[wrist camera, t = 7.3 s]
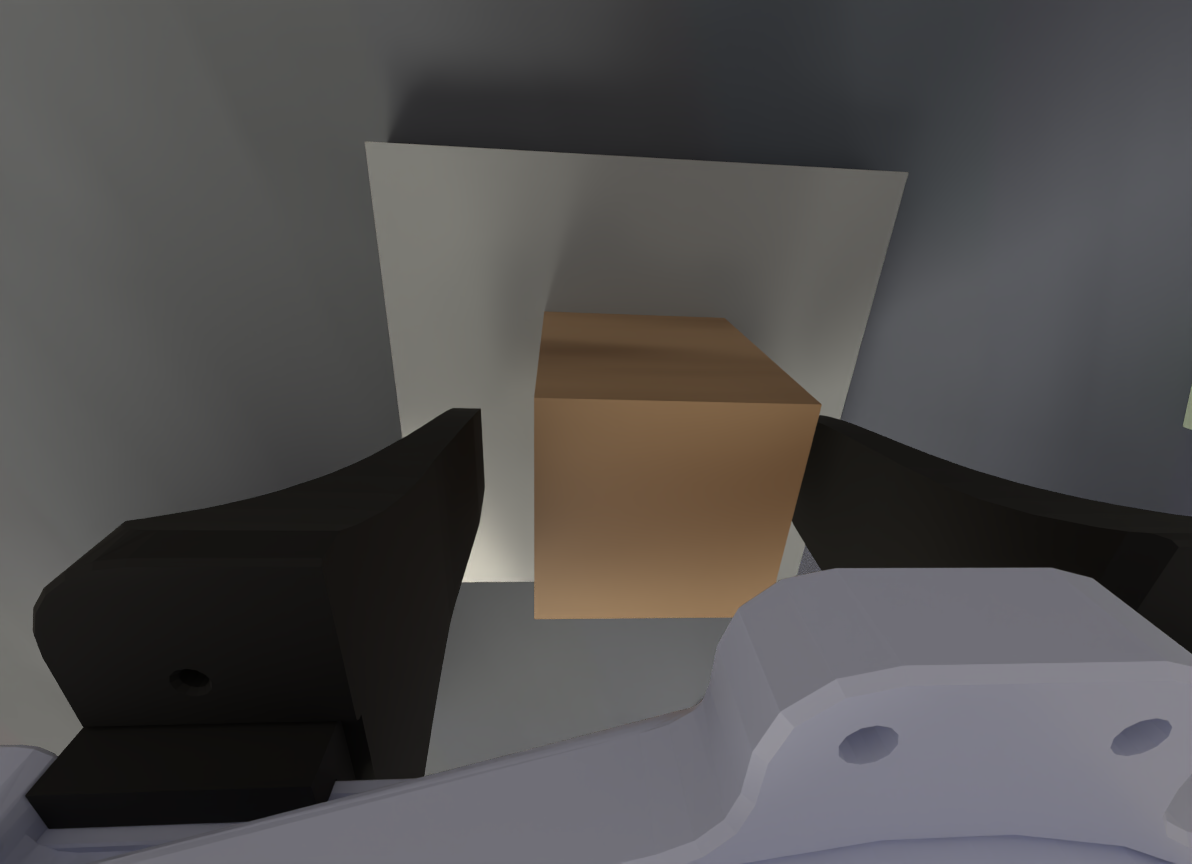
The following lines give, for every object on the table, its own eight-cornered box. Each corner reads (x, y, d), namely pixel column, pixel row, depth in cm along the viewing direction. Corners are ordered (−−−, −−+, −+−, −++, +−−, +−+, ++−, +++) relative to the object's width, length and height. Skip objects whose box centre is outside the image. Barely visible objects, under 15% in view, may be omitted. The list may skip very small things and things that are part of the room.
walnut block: (700, 472, 15) (767, 616, 10) (543, 471, 15) (533, 618, 10) (724, 317, 13) (821, 404, 8) (544, 311, 13) (534, 397, 8)
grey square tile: (778, 551, 19) (795, 580, 17) (431, 551, 18) (420, 582, 16) (873, 172, 13) (908, 172, 12) (386, 145, 12) (364, 141, 11)
